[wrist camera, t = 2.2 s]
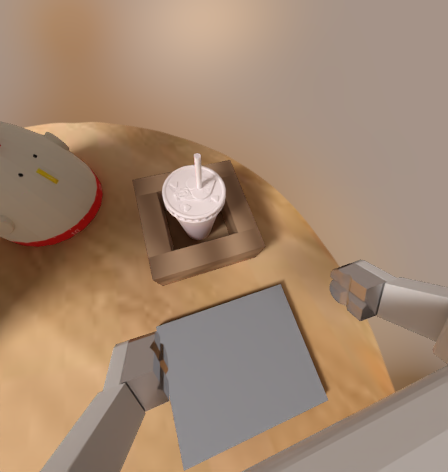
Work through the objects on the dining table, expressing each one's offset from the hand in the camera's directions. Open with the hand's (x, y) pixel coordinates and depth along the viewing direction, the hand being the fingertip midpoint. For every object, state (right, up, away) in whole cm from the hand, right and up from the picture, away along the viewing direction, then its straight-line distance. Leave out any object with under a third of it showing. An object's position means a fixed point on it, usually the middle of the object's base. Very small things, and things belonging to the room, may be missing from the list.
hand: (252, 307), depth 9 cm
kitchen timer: (-26, +8, +20) cm, 34 cm away
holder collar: (-5, +4, +20) cm, 21 cm away
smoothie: (-5, +4, +20) cm, 21 cm away
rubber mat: (0, -11, +14) cm, 18 cm away
